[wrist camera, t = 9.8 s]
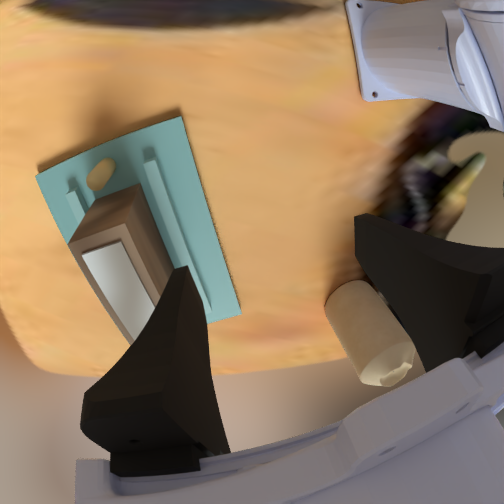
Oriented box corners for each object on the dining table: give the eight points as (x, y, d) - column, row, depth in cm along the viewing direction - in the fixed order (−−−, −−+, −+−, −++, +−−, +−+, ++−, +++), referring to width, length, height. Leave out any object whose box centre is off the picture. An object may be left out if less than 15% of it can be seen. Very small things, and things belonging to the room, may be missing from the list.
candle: (317, 297, 28) (363, 381, 20) (366, 269, 28) (424, 343, 19) (331, 328, 31) (371, 403, 23) (375, 304, 31) (423, 372, 22)
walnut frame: (140, 182, 19) (124, 224, 13) (187, 295, 24) (191, 354, 19) (94, 199, 18) (66, 245, 13) (148, 306, 24) (144, 365, 19)
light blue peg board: (181, 115, 17) (180, 122, 14) (240, 309, 27) (248, 338, 24) (38, 173, 17) (15, 192, 14) (129, 338, 26) (126, 368, 23)
